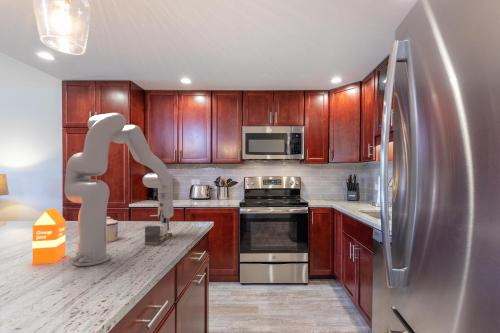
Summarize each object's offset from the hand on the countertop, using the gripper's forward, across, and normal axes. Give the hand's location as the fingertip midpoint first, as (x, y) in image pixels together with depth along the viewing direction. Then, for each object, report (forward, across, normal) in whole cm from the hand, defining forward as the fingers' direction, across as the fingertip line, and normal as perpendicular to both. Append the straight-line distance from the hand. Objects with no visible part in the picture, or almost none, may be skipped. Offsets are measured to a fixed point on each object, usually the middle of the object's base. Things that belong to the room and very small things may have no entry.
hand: (165, 230), depth 138 cm
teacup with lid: (+3, -8, +27) cm, 28 cm away
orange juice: (+3, -38, +31) cm, 49 cm away
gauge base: (+3, -7, 0) cm, 8 cm away
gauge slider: (+1, -6, 0) cm, 6 cm away
